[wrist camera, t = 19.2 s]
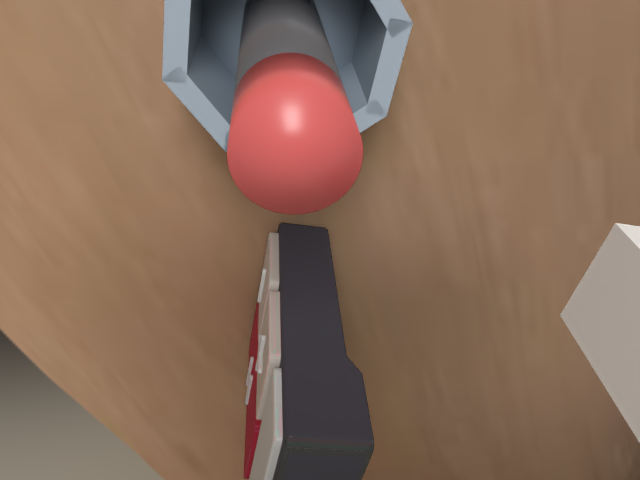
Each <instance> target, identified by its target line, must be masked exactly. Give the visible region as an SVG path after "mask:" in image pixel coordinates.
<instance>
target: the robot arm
mask: <svg viewBox="0 0 640 480" xmlns="http://www.w3.org/2000/svg"><path fill="white" fill-rule="evenodd" d="M560 316H561V317H562V319H563V321H564V322H565V324H566V325H567V327H568V329H569V330H570V332H571V333H572V335H573V337H574V338H575V340H576V341H577V343H578V345H579V346H580V348H581V350H582V351H583V353H584V354H585V356H586V358H587V359H588V361H589V362H590V364H591V366H592V367H593V369H594V370H595V372H596V374H597V375H598V377H599V378H600V380H601V382H602V383H603V385H604V387H605V388H606V390H607V391H608V393H609V395H610V396H611V398H612V399H613V401H614V403H615V404H616V406H617V407H618V409H619V411H620V412H621V414H622V415H623V417H624V419H625V420H626V422H627V424H628V425H629V427H630V428H631V430H632V432H633V433H634V435H635V436H636V438H637V440H638V441H639V443H640V226H633V225H626V224H619V223H615V224H614V226H613V228H612V229H611V231H610V233H609V234H608V236H607V238H606V239H605V241H604V243H603V244H602V246H601V248H600V249H599V251H598V253H597V255H596V256H595V258H594V260H593V261H592V263H591V265H590V266H589V268H588V270H587V271H586V273H585V275H584V276H583V278H582V280H581V281H580V283H579V285H578V286H577V288H576V290H575V291H574V293H573V295H572V296H571V298H570V300H569V301H568V303H567V305H566V306H565V308H564V310H563V311H562V313H561V315H560Z"/></svg>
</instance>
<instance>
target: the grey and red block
mask: <svg viewBox="0 0 640 480" xmlns="http://www.w3.org/2000/svg"><path fill="white" fill-rule="evenodd" d="M246 386H248V387H247V393H246V399H245V405H247V413H246V436H245V459H244V478H245V479H249V480H361V479H362V477H363V474H364V472H365V470H366V467H367V465H368V463H369V460H370V458H371V456H372V453H373V450H374V439H373V432H372V427H371V421H370V415H369V409H368V404H367V398H366V392H365V386H364V381H363V376H362V373H361V372H360V370H359V369H358V368H357V367H356V366H355V365H354V364H353V363H352V362H351V360H350V359H349V358H348V357H347V355H346V349H345V342H344V335H343V329H342V322H341V315H340V309H339V302H338V295H337V288H336V282H335V275H334V268H333V262H332V255H331V248H330V241H329V235H328V230H327V229H326V228H321V227H313V226H305V225H296V224H287V223H280V224H279V228H278V233H273V232H270V233H269V236H268V242H267V248H266V253H265V259H264V265H263V270H262V275H261V281H260V287H259V293H258V299H257V305H256V311H255V317H254V323H253V328H252V334H251V340H250V347H249V367H248V374H247V379H246Z"/></svg>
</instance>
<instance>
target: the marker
mask: <svg viewBox="0 0 640 480" xmlns="http://www.w3.org/2000/svg"><path fill="white" fill-rule="evenodd" d="M362 160H363V144H362V139H361V135H360V132H359V129H358V127H357V124H356V121H355V118H354V115H353V112H352V109H351V106H350V103H349V100H348V98H347V95H346V92H345V89H344V86H343V83H342V80H341V77H340V74H339V71H338V69H337V66H336V63H335V60H334V57H333V54H332V51H331V48H330V45H329V42H328V39H327V37H326V34H325V31H324V28H323V25H322V22H321V19H320V16H319V13H318V10H317V8H316V5H315V2H314V0H247V1H246V3H245V7H244V14H243V22H242V30H241V39H240V47H239V55H238V64H237V72H236V80H235V89H234V97H233V105H232V114H231V122H230V131H229V139H228V148H227V161H228V166H229V170H230V173H231V176H232V178H233V180H234V182H235V183H236V185H237V186H238V188H239V189H240V190H241V192H242V193H243V194H244V195H245V196H246V197H248V198H249V199H250V200H251V201H252V202H254V203H256V204H257V205H259V206H261V207H263V208H265V209H267V210H270V211H273V212H277V213H282V214H306V213H311V212H315V211H318V210H321V209H323V208H325V207H327V206H329V205H331V204H333V203H334V202H336V201H337V200H339V199H340V198H341V197H342V196H343V195H344V194H345V193H346V192H347V191H348V190H349V189H350V188H351V186H352V185H353V184H354V182H355V180H356V178H357V177H358V174H359V172H360V169H361V165H362Z"/></svg>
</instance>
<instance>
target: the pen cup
mask: <svg viewBox="0 0 640 480" xmlns="http://www.w3.org/2000/svg"><path fill="white" fill-rule="evenodd" d="M246 1H247V0H165V7H164V41H163V74H162V81H164V82H165V84H166V85H167V86H168V87H169V88H170V89H171V90H172V91H173V93H174V94H175V95H176V96H177V97H178V98H179V99H180V101H181V102H182V103H183V104H184V105H185V106H186V107H187V109H188V110H189V111H190V112H191V113H192V114H193V115H194V116H195V118H196V119H197V120H198V121H199V122H200V123H201V124H202V126H203V127H204V128H205V129H206V130H207V131H208V132H209V134H210V135H211V136H212V137H213V138H214V139H215V140H216V141H217V143H218V144H219V145H220V146H221V147H222V148H223V149H224V151H225V152H226V151H227V148H228V139H229V131H230V122H231V114H232V105H233V97H234V89H235V80H236V72H237V64H238V55H239V47H240V39H241V30H242V22H243V14H244V7H245V3H246ZM314 2H315V5H316V8H317V10H318V13H319V16H320V19H321V22H322V25H323V28H324V31H325V34H326V37H327V39H328V42H329V45H330V48H331V51H332V54H333V57H334V60H335V63H336V66H337V69H338V71H339V74H340V77H341V80H342V83H343V86H344V89H345V92H346V95H347V98H348V100H349V103H350V106H351V109H352V112H353V115H354V118H355V121H356V124H357V127H358V129H359V132H360V133H361V132H362V131H364V130H365V129H367V128H369V127H370V126H372V125H373V124H375V123H376V122H378V121H380V120H381V119H383V118H384V117H386V116H387V112H388V109H389V105H390V102H391V98H392V95H393V91H394V88H395V84H396V81H397V77H398V73H399V70H400V66H401V63H402V59H403V56H404V52H405V49H406V45H407V42H408V38H409V35H410V31H411V27H412V24H413V22H412V20H411V19H410V17H409V15H408V14H407V12H406V10H405V8H404V6H403V4H402V3H401V1H400V0H314Z"/></svg>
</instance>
